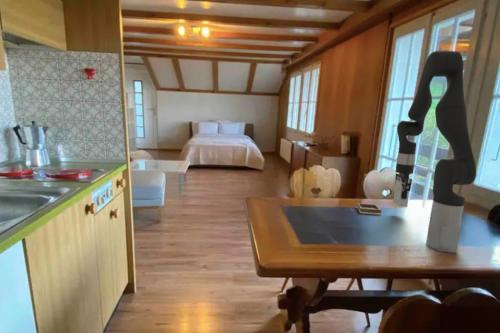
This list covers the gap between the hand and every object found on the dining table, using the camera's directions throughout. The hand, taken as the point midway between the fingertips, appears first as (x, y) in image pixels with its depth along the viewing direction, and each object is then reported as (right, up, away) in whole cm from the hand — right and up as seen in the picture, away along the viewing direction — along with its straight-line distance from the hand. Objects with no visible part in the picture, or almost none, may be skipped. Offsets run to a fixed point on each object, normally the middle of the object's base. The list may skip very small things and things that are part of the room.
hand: (400, 196), depth 135 cm
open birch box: (-13, -8, +6) cm, 17 cm away
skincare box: (0, -4, +1) cm, 4 cm away
